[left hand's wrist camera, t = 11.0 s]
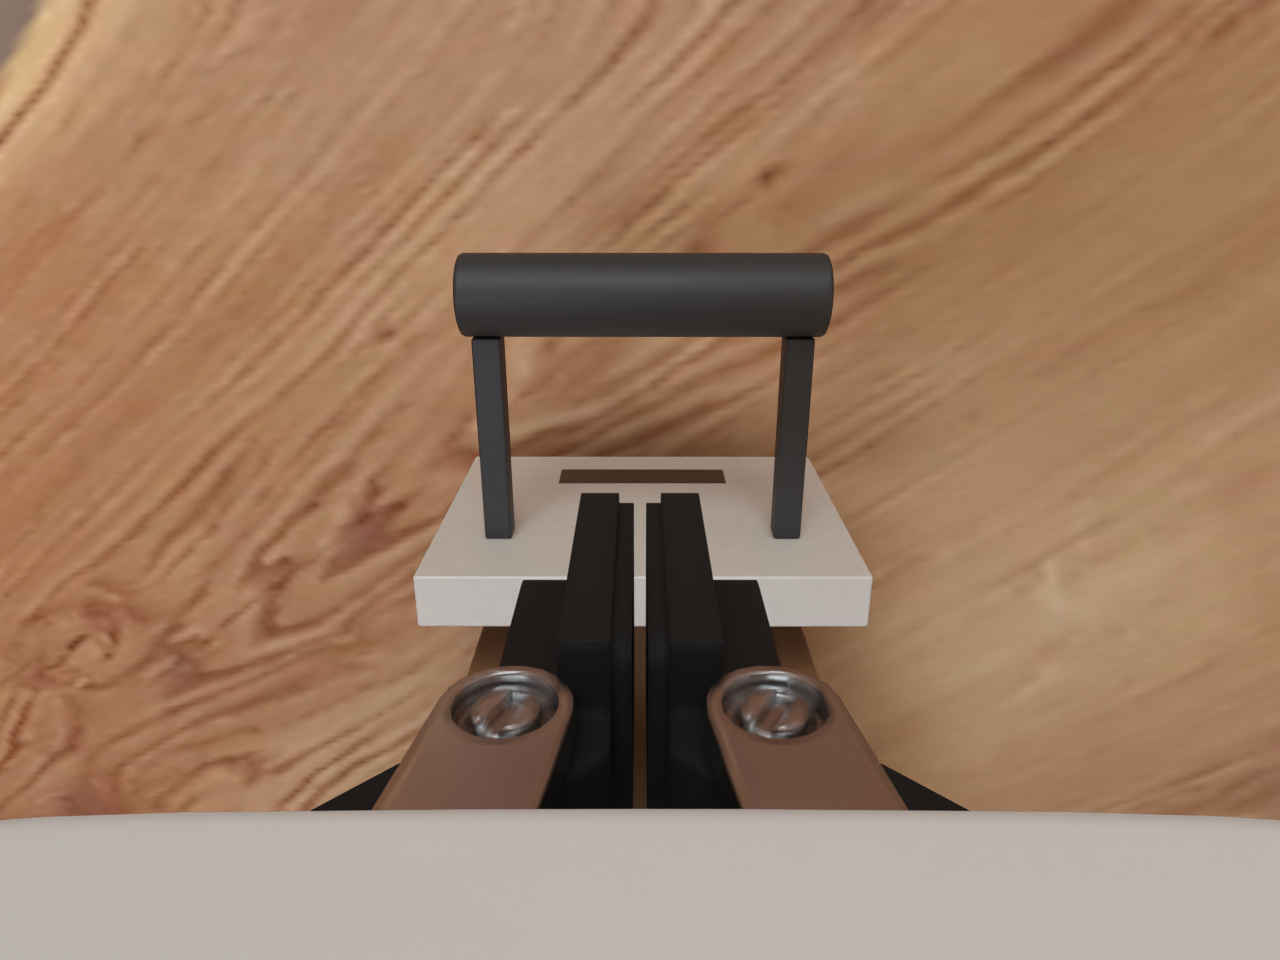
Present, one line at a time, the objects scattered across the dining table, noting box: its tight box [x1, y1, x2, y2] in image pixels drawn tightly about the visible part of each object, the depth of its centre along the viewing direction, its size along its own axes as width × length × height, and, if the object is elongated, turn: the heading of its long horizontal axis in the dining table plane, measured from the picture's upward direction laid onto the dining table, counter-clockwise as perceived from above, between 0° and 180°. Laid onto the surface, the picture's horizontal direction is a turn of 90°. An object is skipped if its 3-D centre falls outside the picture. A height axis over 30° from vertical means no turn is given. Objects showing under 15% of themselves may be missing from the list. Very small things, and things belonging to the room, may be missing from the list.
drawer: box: [413, 253, 873, 809], centre depth 22 cm, size 20×10×7 cm, turn 0°
